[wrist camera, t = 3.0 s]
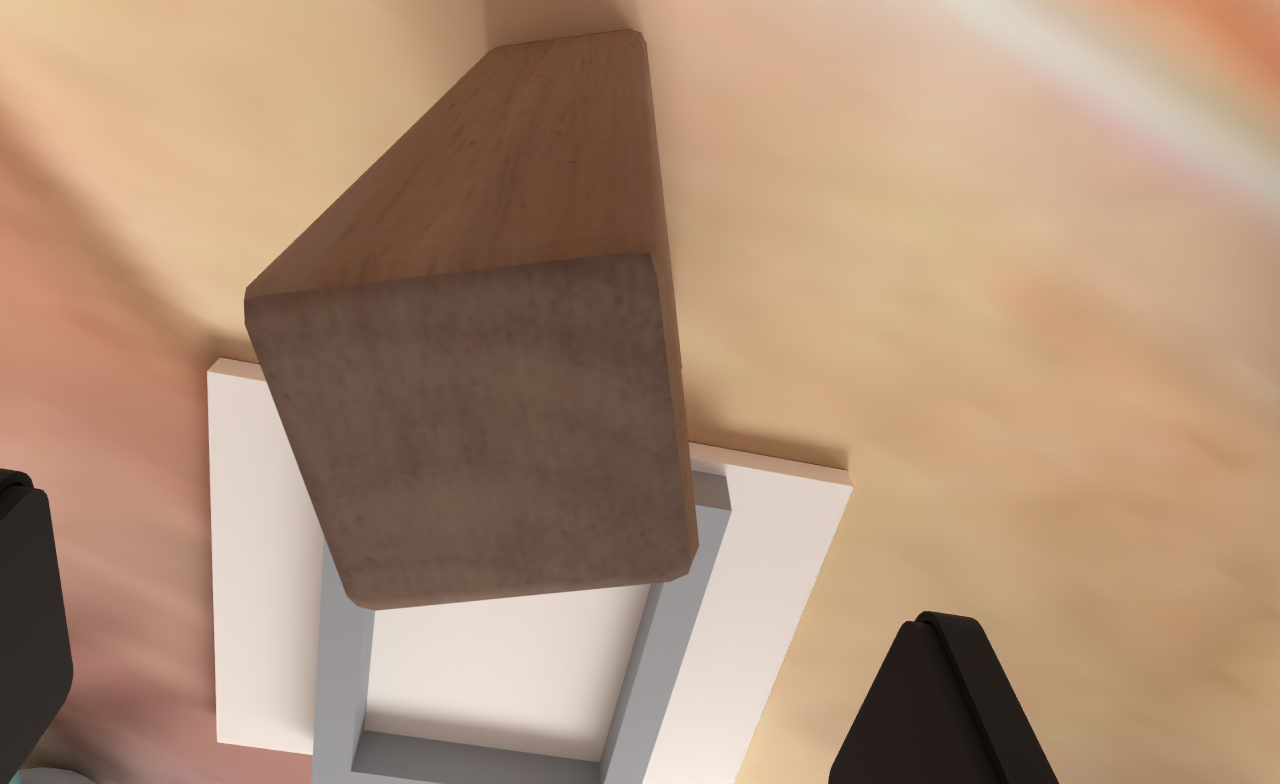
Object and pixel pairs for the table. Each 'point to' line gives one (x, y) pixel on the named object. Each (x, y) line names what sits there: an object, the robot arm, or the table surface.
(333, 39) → the table surface
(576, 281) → the wooden block
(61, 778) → the toy figure
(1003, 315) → the table surface
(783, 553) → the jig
